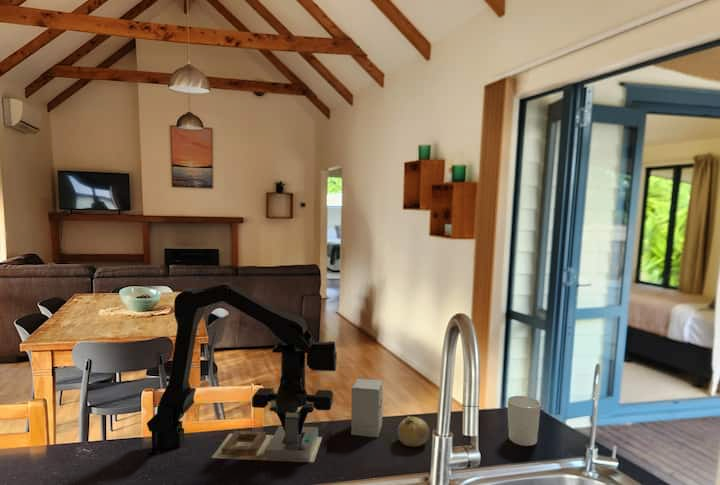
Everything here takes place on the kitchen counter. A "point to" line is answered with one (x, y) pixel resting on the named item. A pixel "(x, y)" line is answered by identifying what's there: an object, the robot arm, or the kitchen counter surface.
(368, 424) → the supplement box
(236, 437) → the brown rectangular frame
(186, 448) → the kitchen counter surface
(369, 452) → the kitchen counter surface
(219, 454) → the board
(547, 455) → the kitchen counter surface
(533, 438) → the white cup
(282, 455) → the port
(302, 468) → the kitchen counter surface
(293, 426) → the plug
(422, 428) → the onion
